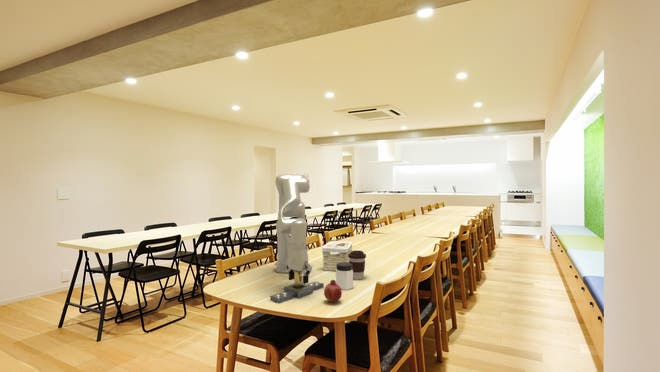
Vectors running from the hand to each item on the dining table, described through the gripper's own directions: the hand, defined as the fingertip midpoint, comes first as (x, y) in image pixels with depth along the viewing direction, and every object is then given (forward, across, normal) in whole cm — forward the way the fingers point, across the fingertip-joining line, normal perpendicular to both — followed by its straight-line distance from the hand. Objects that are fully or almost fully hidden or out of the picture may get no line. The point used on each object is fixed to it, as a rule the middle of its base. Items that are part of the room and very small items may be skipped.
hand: (298, 281), depth 165 cm
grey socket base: (+6, 0, 0) cm, 6 cm away
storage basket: (+6, -18, +53) cm, 56 cm away
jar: (+6, +11, +22) cm, 25 cm away
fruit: (+6, +20, +2) cm, 21 cm away
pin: (+6, 0, 0) cm, 6 cm away
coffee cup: (+6, +6, +40) cm, 41 cm away
